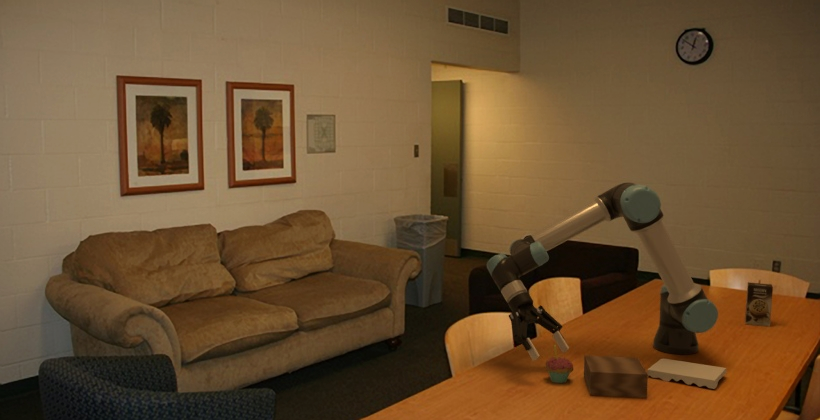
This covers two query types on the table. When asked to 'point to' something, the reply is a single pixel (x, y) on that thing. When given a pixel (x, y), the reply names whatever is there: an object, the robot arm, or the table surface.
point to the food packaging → (687, 372)
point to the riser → (615, 376)
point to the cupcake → (558, 368)
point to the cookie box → (758, 304)
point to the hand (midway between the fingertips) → (551, 354)
